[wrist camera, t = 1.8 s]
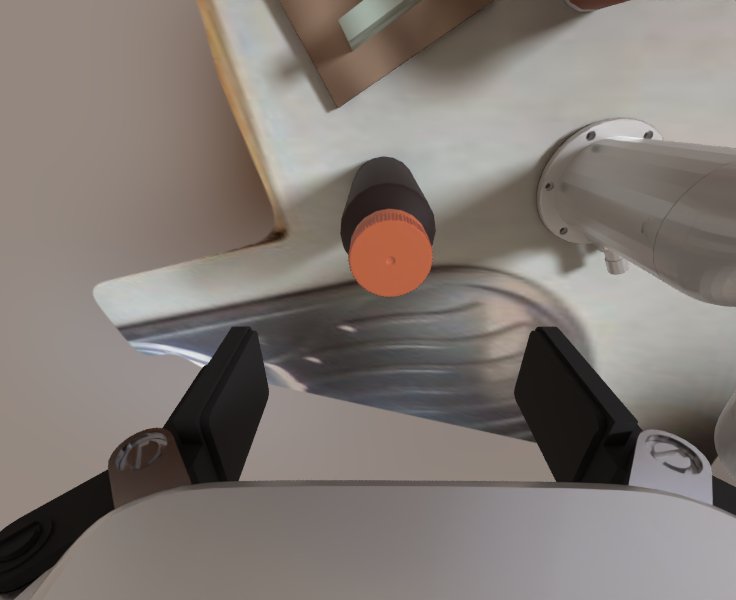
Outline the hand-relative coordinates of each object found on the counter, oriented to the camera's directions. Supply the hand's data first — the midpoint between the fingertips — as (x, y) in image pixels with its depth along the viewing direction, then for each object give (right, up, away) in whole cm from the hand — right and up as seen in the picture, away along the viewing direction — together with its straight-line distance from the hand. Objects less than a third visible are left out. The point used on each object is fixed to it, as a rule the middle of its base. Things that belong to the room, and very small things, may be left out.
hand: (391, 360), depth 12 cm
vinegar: (+1, +14, +25) cm, 29 cm away
